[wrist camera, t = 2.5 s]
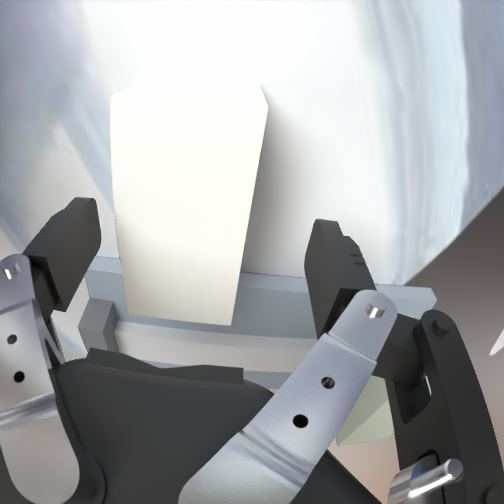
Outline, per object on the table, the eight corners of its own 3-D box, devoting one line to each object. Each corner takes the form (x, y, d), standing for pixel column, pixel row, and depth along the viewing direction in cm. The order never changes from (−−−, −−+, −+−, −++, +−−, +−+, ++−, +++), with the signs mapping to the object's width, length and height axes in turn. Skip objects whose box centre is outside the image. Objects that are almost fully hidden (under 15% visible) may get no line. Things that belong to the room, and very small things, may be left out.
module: (158, 228, 20) (128, 313, 14) (163, 72, 14) (110, 96, 8) (233, 235, 21) (230, 325, 15) (257, 80, 15) (268, 107, 9)
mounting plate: (116, 359, 30) (98, 436, 23) (89, 255, 21) (42, 353, 14) (369, 375, 33) (386, 444, 26) (430, 288, 25) (472, 371, 17)
